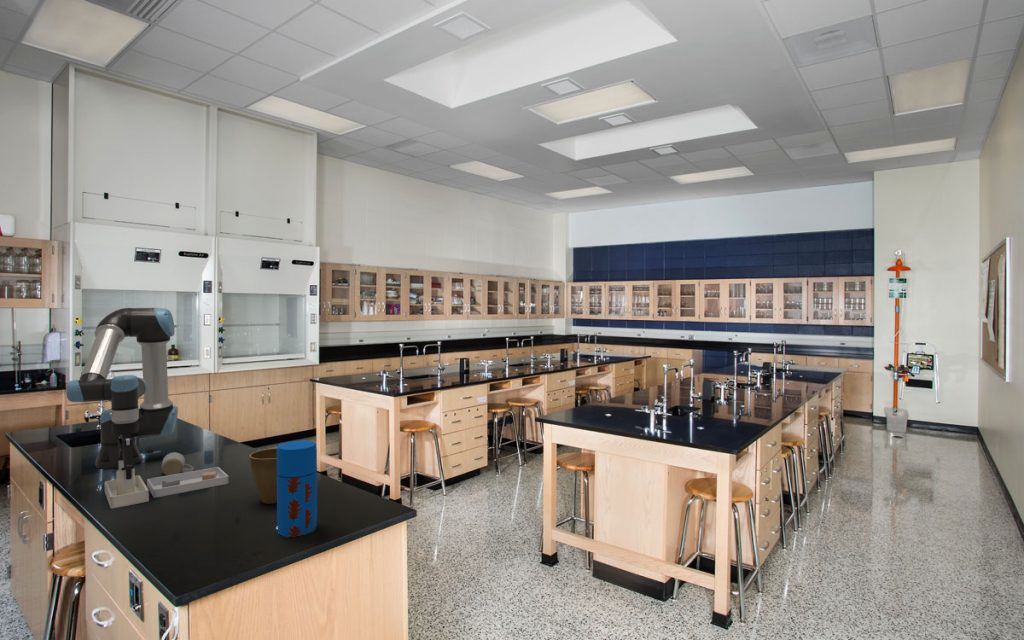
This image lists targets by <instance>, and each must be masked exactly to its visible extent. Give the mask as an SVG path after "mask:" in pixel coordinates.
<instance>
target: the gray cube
mask: <svg viewBox="0 0 1024 640" xmlns="http://www.w3.org/2000/svg"><path fill="white" fill-rule="evenodd" d="M175 485H180V480H179V479H177V478H171V479H167V480H162V488H164V487H170V486H175Z"/></svg>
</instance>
